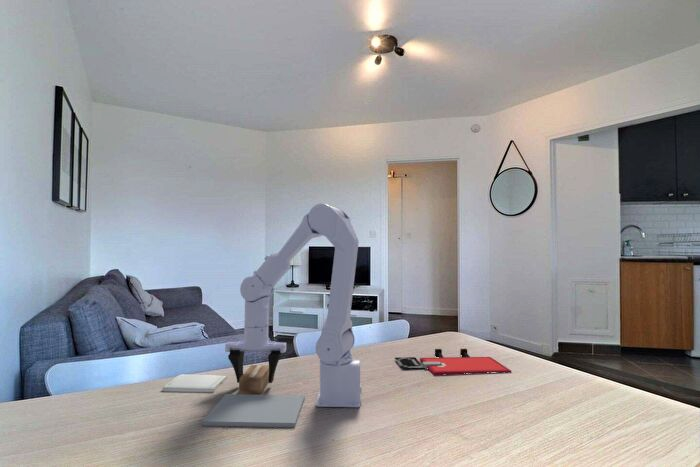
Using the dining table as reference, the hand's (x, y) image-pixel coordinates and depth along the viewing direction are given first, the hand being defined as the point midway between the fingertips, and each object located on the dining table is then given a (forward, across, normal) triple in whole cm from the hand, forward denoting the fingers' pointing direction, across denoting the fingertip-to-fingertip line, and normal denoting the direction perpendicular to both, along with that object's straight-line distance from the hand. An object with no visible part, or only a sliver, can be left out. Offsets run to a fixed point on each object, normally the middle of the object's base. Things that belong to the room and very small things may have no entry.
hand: (255, 381), depth 83 cm
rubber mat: (+1, -4, +12) cm, 13 cm away
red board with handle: (+2, -52, -18) cm, 55 cm away
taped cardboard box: (+2, 0, 0) cm, 2 cm away
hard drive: (+2, +15, -1) cm, 15 cm away
